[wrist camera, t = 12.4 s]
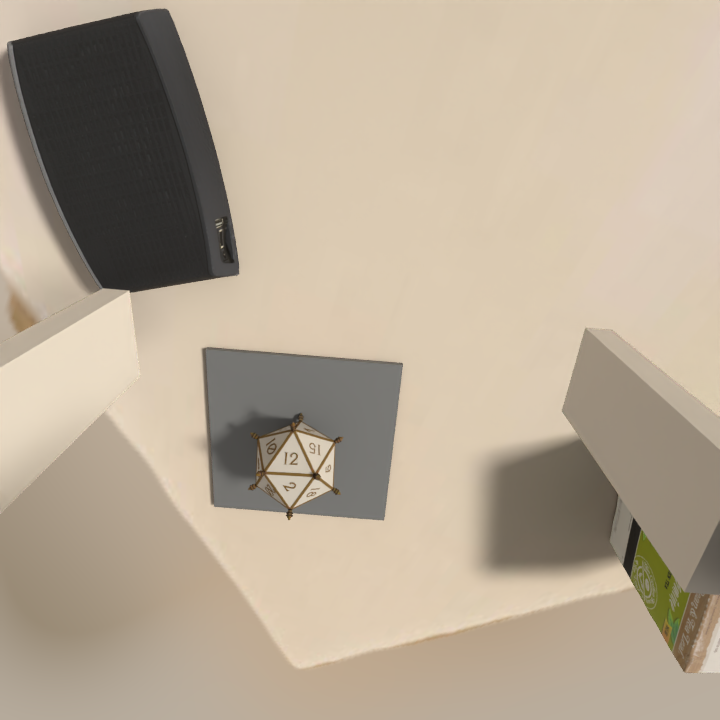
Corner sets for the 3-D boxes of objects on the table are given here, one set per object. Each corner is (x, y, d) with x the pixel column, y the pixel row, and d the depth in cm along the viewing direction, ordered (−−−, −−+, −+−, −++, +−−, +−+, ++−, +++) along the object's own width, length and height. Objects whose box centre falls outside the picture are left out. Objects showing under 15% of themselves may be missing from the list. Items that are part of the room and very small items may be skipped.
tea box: (627, 421, 46) (731, 533, 33) (736, 417, 46) (887, 530, 32) (605, 542, 52) (685, 679, 39) (701, 540, 52) (816, 678, 38)
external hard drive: (108, 295, 44) (83, 308, 40) (13, 44, 36) (-29, 32, 32) (249, 272, 42) (237, 283, 39) (181, 8, 35) (157, -10, 31)
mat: (207, 347, 45) (205, 349, 44) (402, 363, 45) (402, 365, 44) (215, 503, 52) (214, 506, 51) (383, 517, 52) (384, 520, 51)
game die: (314, 435, 52) (304, 533, 47) (240, 414, 48) (221, 519, 43) (365, 411, 45) (360, 521, 41) (285, 383, 41) (268, 503, 36)
